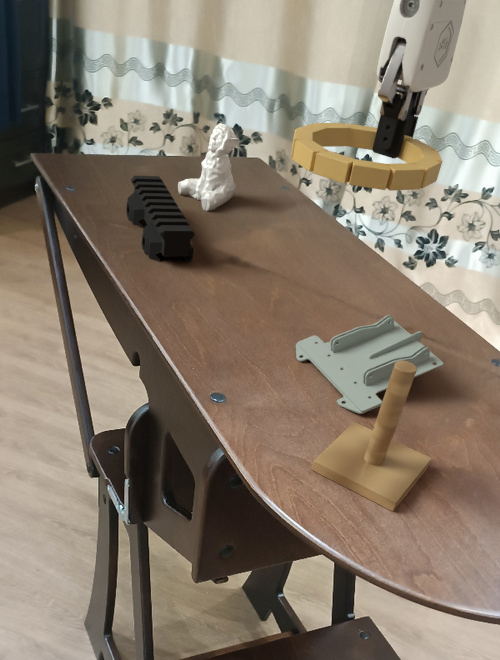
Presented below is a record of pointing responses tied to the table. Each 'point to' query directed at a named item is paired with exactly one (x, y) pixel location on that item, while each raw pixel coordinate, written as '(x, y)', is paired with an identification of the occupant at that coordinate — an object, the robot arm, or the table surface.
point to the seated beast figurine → (214, 171)
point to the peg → (377, 450)
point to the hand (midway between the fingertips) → (390, 151)
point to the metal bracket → (366, 360)
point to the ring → (344, 169)
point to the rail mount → (159, 219)
